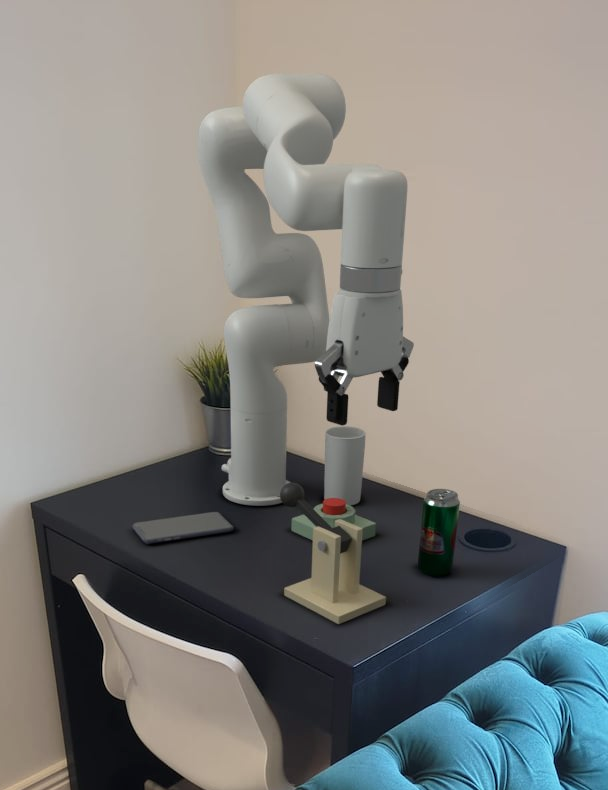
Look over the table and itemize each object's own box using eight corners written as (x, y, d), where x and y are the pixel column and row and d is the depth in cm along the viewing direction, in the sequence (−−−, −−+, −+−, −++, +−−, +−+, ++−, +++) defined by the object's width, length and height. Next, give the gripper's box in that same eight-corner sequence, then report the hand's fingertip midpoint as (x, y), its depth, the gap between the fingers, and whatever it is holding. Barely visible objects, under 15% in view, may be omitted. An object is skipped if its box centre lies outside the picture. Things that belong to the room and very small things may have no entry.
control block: (291, 530, 156) (291, 507, 154) (331, 517, 161) (332, 494, 159) (334, 550, 149) (335, 526, 147) (375, 535, 154) (376, 512, 152)
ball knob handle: (272, 499, 136) (278, 480, 133) (290, 494, 138) (297, 475, 135) (330, 559, 130) (338, 541, 128) (348, 553, 132) (356, 534, 129)
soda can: (410, 570, 143) (417, 493, 137) (430, 560, 146) (438, 484, 140) (438, 581, 140) (446, 503, 134) (458, 570, 143) (467, 493, 137)
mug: (367, 505, 165) (371, 436, 160) (329, 508, 164) (332, 439, 158) (348, 485, 174) (351, 419, 168) (312, 488, 173) (314, 422, 167)
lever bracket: (283, 595, 136) (285, 524, 131) (330, 577, 141) (333, 508, 136) (338, 624, 129) (342, 550, 123) (385, 604, 134) (391, 532, 128)
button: (317, 511, 153) (318, 501, 153) (334, 506, 155) (334, 496, 155) (333, 518, 151) (334, 507, 150) (350, 512, 153) (350, 502, 152)
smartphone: (235, 527, 155) (144, 540, 150) (235, 532, 155) (145, 546, 150) (218, 510, 161) (131, 522, 156) (218, 516, 161) (131, 528, 156)
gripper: (394, 269, 128) (385, 398, 136) (298, 284, 118) (295, 422, 126) (438, 276, 123) (426, 409, 131) (343, 292, 113) (336, 435, 121)
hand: (362, 415), depth 129 cm, fingers open, 9 cm apart
